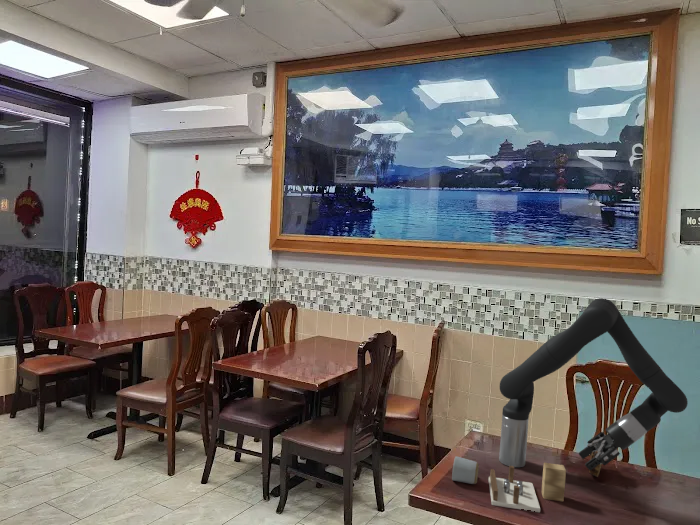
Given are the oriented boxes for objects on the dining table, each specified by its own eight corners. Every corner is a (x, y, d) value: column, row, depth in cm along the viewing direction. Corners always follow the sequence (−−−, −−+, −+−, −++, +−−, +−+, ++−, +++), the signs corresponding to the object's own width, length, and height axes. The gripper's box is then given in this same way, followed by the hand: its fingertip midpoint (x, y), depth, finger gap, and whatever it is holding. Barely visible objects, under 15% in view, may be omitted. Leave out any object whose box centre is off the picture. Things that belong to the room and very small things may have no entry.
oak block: (560, 495, 166) (563, 465, 165) (563, 501, 162) (565, 470, 161) (541, 492, 167) (543, 462, 166) (543, 498, 163) (545, 467, 162)
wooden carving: (589, 464, 192) (592, 438, 191) (603, 467, 189) (605, 441, 189) (586, 481, 177) (589, 452, 177) (601, 485, 175) (603, 456, 174)
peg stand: (531, 486, 171) (532, 483, 171) (540, 512, 154) (540, 508, 154) (488, 480, 173) (488, 476, 173) (491, 504, 157) (492, 501, 157)
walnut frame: (512, 480, 171) (513, 466, 171) (518, 504, 156) (519, 488, 156) (490, 477, 173) (491, 463, 173) (493, 500, 157) (494, 484, 157)
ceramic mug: (476, 488, 167) (478, 465, 167) (451, 483, 169) (452, 460, 169) (478, 475, 177) (480, 453, 177) (454, 471, 179) (455, 449, 179)
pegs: (521, 490, 165) (522, 480, 165) (522, 496, 161) (523, 486, 161) (503, 487, 166) (504, 478, 166) (504, 493, 162) (505, 483, 162)
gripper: (610, 414, 167) (570, 443, 169) (625, 429, 153) (580, 461, 155) (627, 432, 166) (586, 462, 169) (643, 449, 152) (598, 481, 155)
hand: (583, 461), depth 162 cm, fingers open, 8 cm apart
